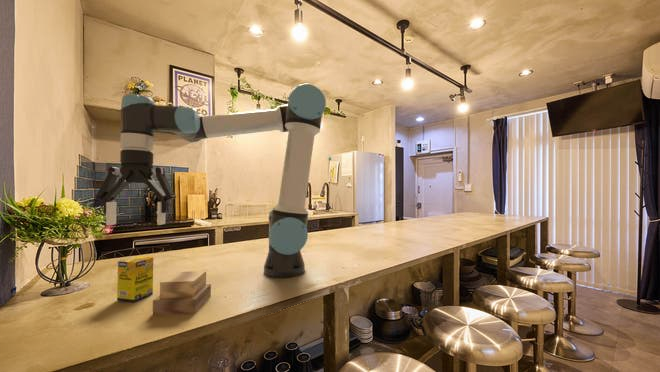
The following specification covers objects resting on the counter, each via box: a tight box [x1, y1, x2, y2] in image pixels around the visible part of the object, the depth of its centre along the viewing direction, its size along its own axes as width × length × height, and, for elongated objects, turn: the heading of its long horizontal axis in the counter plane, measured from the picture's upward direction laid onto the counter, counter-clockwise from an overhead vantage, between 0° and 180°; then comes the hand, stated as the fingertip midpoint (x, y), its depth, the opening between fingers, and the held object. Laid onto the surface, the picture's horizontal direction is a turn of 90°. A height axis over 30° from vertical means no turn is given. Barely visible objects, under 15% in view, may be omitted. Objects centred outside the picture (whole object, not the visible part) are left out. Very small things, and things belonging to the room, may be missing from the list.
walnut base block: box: [152, 283, 212, 316], centre depth 67 cm, size 10×10×4 cm
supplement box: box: [116, 255, 154, 303], centre depth 72 cm, size 6×6×11 cm
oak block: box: [159, 270, 207, 298], centre depth 68 cm, size 8×8×4 cm
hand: (136, 224), depth 72 cm, fingers open, 13 cm apart
